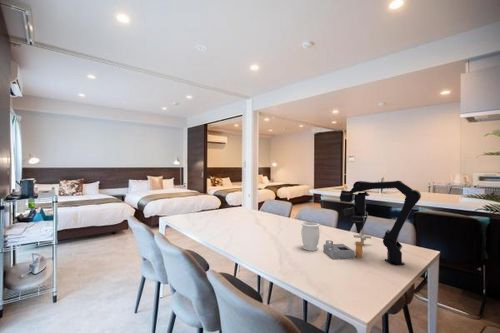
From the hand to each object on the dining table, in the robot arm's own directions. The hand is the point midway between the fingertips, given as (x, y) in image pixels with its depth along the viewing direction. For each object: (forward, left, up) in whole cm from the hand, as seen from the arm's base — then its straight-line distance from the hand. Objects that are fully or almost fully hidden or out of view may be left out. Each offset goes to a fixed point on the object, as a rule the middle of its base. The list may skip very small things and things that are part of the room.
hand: (359, 231), depth 134 cm
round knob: (-3, +2, -13) cm, 14 cm away
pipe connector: (+17, -12, -13) cm, 25 cm away
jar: (+12, +24, -13) cm, 30 cm away
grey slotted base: (+1, +12, -13) cm, 18 cm away
